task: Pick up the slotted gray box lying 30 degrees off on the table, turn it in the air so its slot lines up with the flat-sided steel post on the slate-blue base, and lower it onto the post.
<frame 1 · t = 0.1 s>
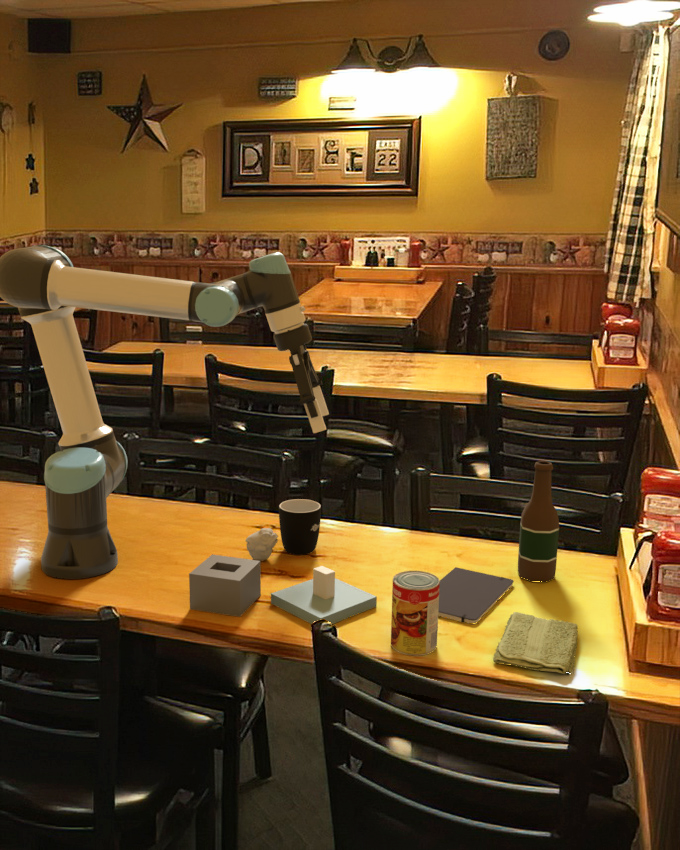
hand: (321, 423, 196), 28 cm above the table, tool tilted 20°, fingers open, 13 cm apart
mug: (301, 548, 202), on the table
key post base: (323, 604, 174), on the table
beer bottle: (535, 576, 189), on the table
slotted gray box: (225, 601, 174), on the table
canned food: (413, 645, 159), on the table
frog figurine: (261, 560, 195), on the table
washcloth: (537, 652, 159), on the table
notebook: (464, 600, 179), on the table
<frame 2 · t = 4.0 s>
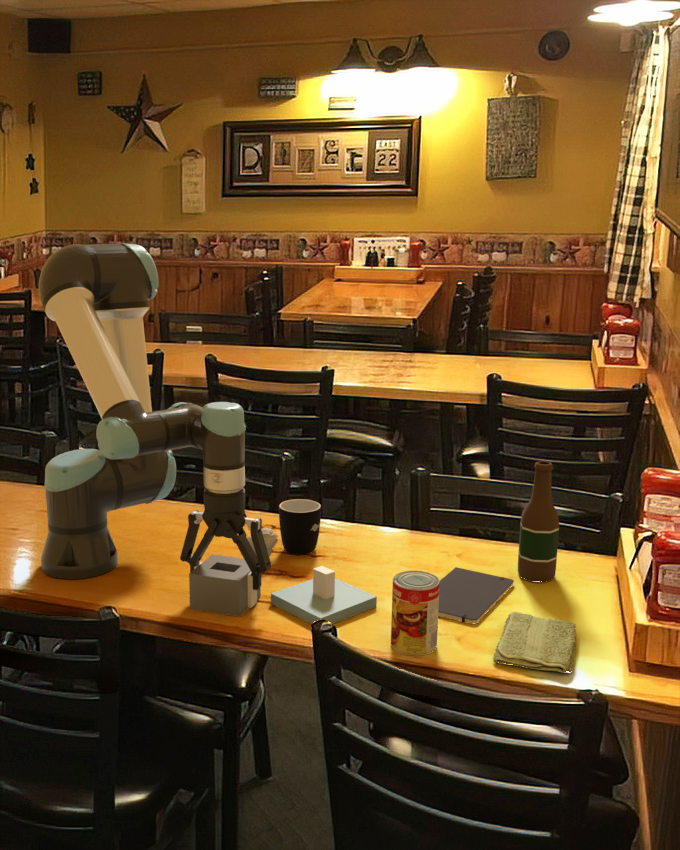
hand: (225, 600, 174), 0 cm above the table, tool pointing down, fingers closed on slotted gray box, 10 cm apart
slotted gray box: (225, 602, 174), on the table, touching gripper
everything else where it was.
when the fingers open (4 cm above the table, at t = 9.4 s): slotted gray box drops 1 cm, resting on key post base.
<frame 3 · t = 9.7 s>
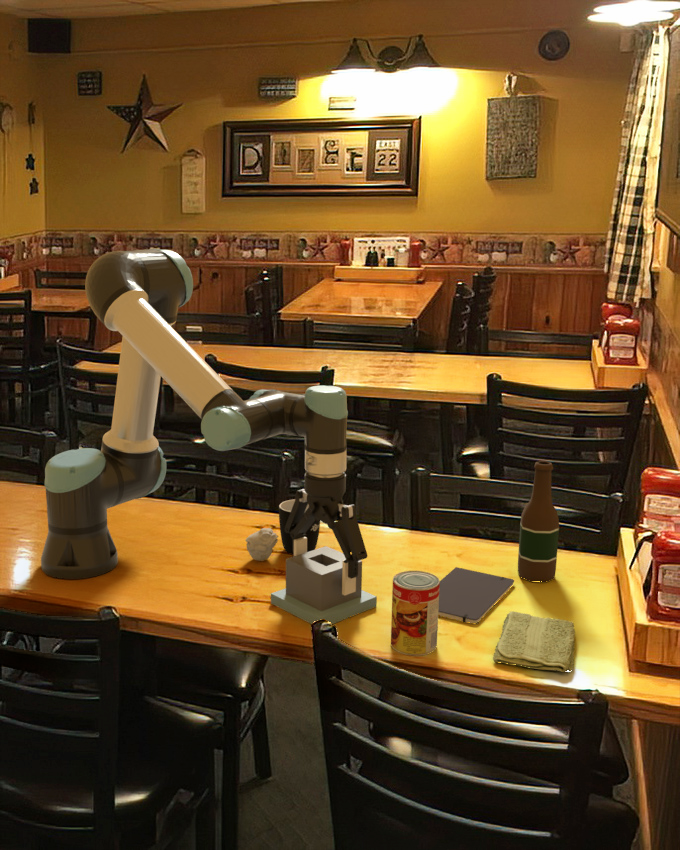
hand: (323, 581, 173), 5 cm above the table, tool pointing down, fingers open, 13 cm apart
slotted gray box: (323, 595, 173), point 2 cm above the table, touching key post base
everything else where it was.
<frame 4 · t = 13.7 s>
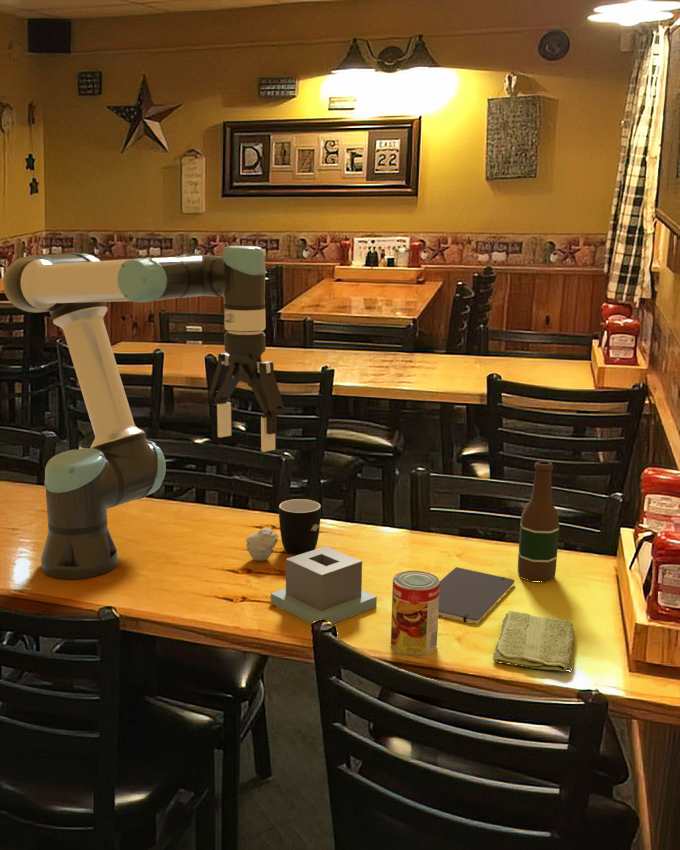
hand: (245, 443, 176), 29 cm above the table, tool pointing down, fingers open, 13 cm apart
nothing on the table moved.
at the end: slotted gray box 0.1 cm off-centre on the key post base, point 2.0 cm above the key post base's base; slotted gray box tilted 0°; the gripper is holding nothing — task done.
